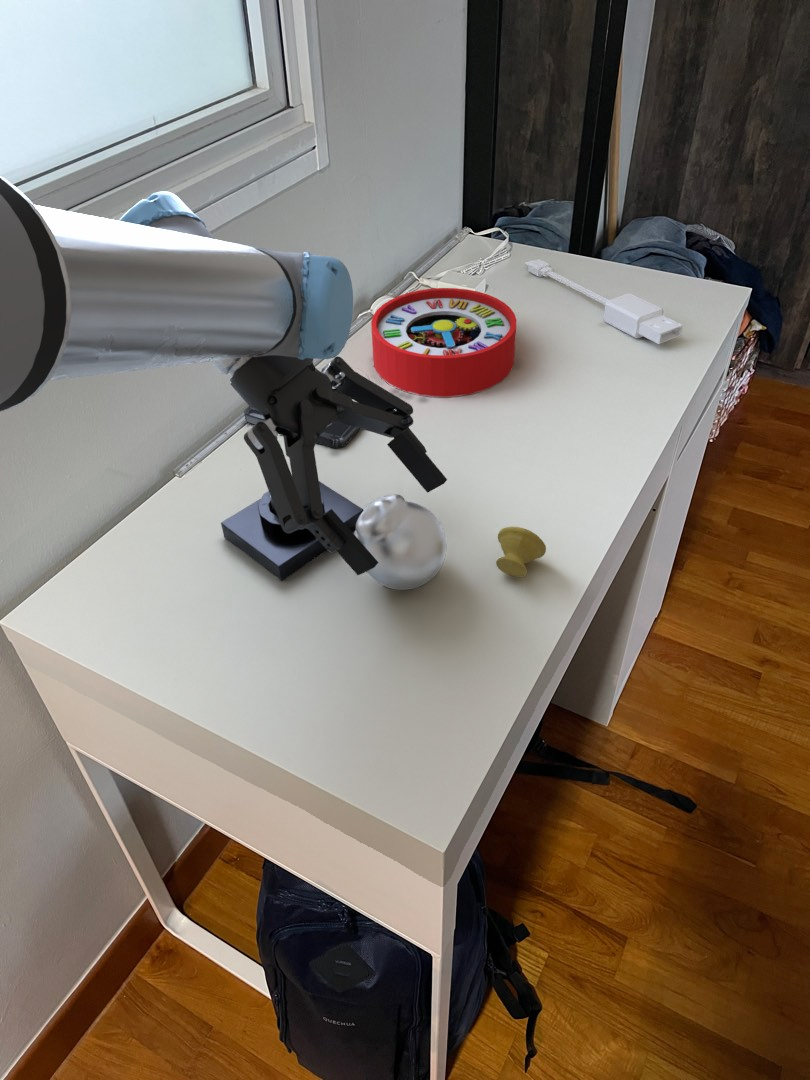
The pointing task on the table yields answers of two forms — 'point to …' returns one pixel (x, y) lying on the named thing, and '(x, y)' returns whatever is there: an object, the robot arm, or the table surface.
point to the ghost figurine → (401, 542)
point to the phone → (332, 436)
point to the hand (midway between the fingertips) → (404, 525)
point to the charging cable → (622, 310)
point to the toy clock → (443, 342)
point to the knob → (518, 550)
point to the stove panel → (283, 533)
